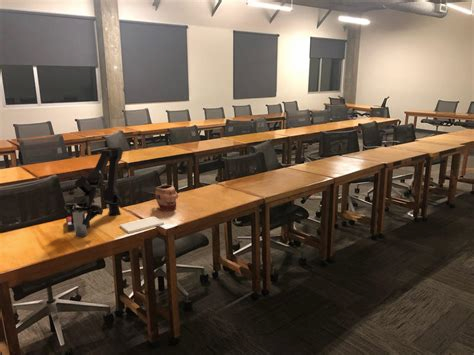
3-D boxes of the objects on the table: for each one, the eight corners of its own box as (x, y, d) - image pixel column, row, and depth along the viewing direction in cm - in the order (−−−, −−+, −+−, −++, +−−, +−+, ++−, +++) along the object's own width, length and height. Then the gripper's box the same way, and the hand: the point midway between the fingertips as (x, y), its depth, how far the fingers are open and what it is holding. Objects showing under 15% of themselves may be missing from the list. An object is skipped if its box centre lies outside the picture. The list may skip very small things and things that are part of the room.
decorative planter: (147, 207, 234) (145, 185, 230) (163, 202, 243) (161, 181, 240) (169, 214, 222) (167, 191, 218) (184, 208, 231) (183, 186, 227)
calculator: (86, 213, 215) (89, 220, 202) (87, 220, 216) (90, 228, 203) (65, 216, 211) (67, 224, 198) (66, 224, 212) (68, 231, 198)
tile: (128, 233, 195) (128, 231, 195) (119, 226, 204) (119, 224, 204) (164, 224, 207) (163, 222, 207) (154, 217, 216) (154, 216, 216)
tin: (75, 234, 195) (72, 210, 191) (87, 232, 196) (84, 209, 193) (75, 238, 190) (72, 213, 186) (87, 236, 192) (84, 212, 188)
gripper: (64, 188, 193) (52, 216, 185) (97, 190, 189) (86, 219, 181) (75, 198, 202) (65, 225, 195) (107, 200, 198) (97, 228, 191)
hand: (78, 224), depth 190 cm, fingers open, 7 cm apart
